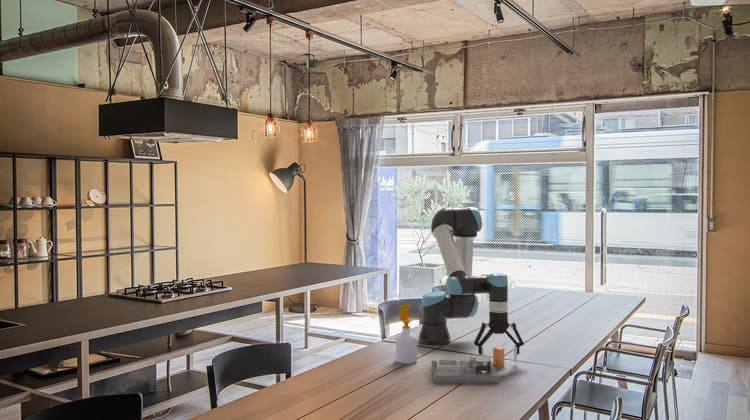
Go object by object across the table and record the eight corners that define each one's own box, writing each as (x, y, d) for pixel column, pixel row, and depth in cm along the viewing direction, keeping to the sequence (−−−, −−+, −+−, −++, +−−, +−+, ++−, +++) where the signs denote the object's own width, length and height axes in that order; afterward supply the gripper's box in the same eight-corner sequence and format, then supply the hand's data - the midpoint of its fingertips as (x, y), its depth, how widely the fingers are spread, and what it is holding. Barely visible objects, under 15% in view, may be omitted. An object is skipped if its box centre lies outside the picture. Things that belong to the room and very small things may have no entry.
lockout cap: (492, 363, 257) (492, 347, 257) (503, 363, 257) (503, 347, 257) (493, 366, 253) (493, 349, 252) (505, 366, 253) (505, 349, 252)
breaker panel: (431, 368, 252) (431, 352, 252) (490, 367, 251) (490, 352, 251) (434, 383, 232) (434, 367, 232) (498, 383, 231) (498, 367, 231)
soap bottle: (399, 365, 257) (399, 306, 256) (393, 359, 265) (392, 302, 264) (420, 363, 259) (419, 305, 258) (413, 357, 268) (412, 301, 267)
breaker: (473, 362, 246) (473, 356, 247) (486, 362, 246) (485, 356, 247) (476, 361, 238) (476, 355, 238) (489, 361, 237) (489, 355, 238)
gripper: (469, 312, 251) (469, 364, 251) (530, 312, 250) (531, 364, 250) (467, 309, 258) (467, 359, 259) (527, 309, 257) (527, 359, 258)
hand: (498, 362), depth 255 cm, fingers open, 13 cm apart
